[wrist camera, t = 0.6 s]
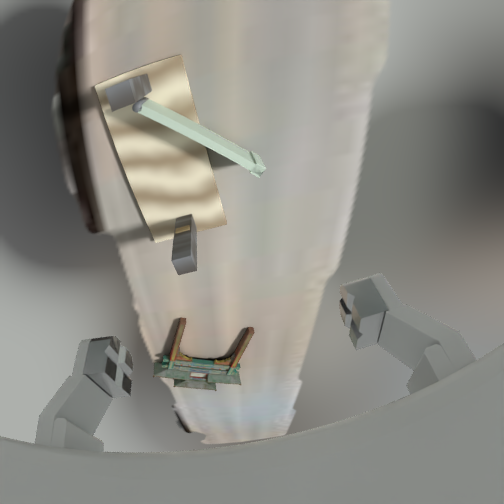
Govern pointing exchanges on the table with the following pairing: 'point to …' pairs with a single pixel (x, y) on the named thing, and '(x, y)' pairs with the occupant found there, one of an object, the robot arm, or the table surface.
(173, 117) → the gate panel
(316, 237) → the table surface
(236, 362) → the miniature gate
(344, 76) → the table surface
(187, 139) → the base
